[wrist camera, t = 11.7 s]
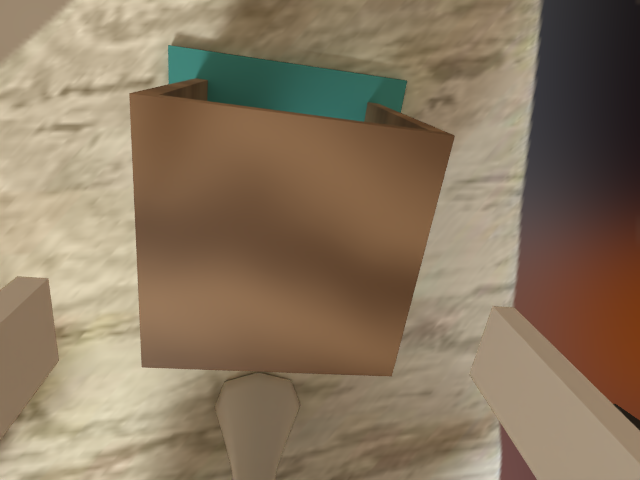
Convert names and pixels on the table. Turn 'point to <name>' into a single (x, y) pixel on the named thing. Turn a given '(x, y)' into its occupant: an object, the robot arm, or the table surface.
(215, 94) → the mat
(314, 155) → the brown wooden box frame
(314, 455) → the table surface
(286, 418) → the flask
